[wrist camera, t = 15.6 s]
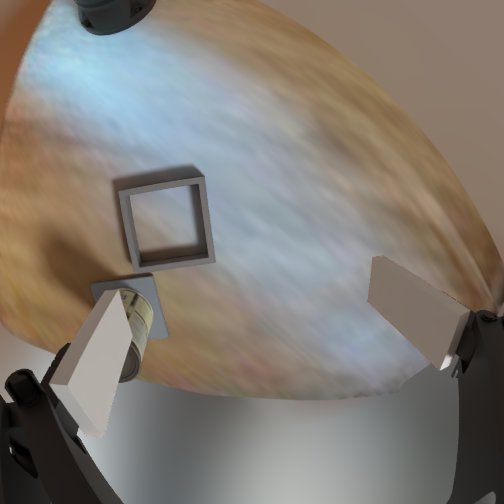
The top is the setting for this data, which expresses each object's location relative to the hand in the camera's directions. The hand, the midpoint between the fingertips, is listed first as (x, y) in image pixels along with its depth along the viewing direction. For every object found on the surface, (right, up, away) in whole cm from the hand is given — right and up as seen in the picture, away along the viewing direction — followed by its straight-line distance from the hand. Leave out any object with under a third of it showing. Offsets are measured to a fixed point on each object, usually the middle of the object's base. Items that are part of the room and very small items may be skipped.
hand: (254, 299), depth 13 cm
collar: (-14, +7, +31) cm, 34 cm away
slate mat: (-23, -9, +34) cm, 42 cm away
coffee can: (-23, -9, +33) cm, 42 cm away
